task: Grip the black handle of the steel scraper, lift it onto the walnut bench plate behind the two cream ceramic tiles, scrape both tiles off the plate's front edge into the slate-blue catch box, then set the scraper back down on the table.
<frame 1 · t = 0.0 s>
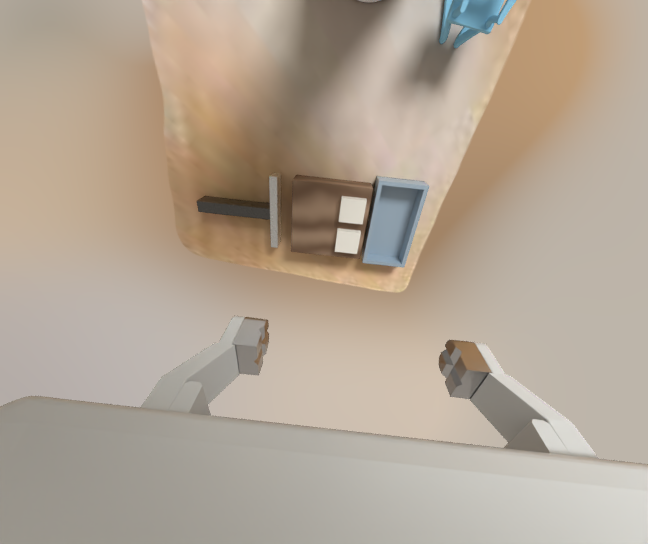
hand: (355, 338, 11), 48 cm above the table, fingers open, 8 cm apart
tile b: (347, 239, 56), point 5 cm above the table, touching bench plate
tile a: (352, 209, 52), point 5 cm above the table, touching bench plate
scraper: (240, 204, 58), on the table
catch box: (389, 221, 58), on the table
light blue open frame: (460, 12, 39), on the table
bench plate: (329, 214, 58), on the table
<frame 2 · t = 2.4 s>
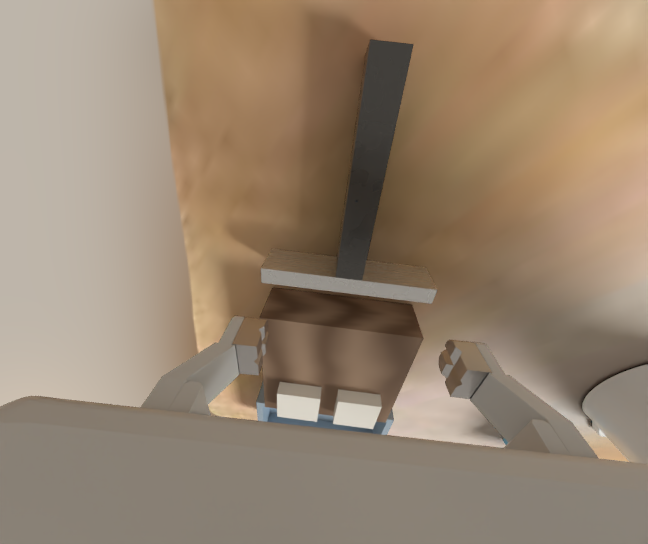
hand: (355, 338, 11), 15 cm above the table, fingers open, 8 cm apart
tile b: (299, 396, 31), point 5 cm above the table, touching bench plate
tile a: (355, 403, 31), point 5 cm above the table, touching bench plate
scraper: (362, 176, 22), on the table
catch box: (323, 402, 40), on the table
bench plate: (333, 343, 33), on the table
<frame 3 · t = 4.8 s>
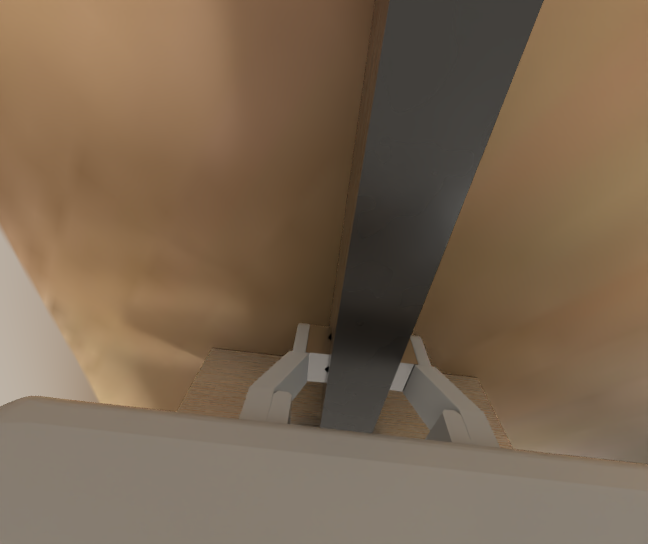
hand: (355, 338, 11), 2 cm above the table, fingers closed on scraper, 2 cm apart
scraper: (369, 242, 11), on the table, touching gripper
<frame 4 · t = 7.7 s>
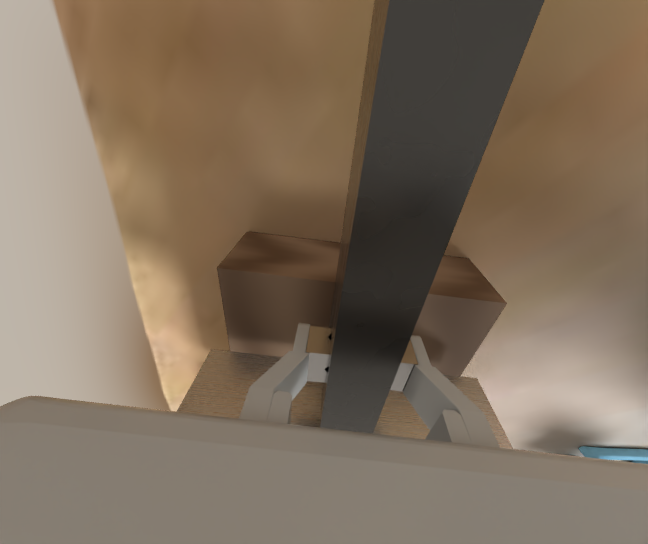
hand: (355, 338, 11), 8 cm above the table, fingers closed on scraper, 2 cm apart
scraper: (369, 243, 11), point 6 cm above the table, touching gripper
light blue open frame: (600, 455, 31), on the table
bench plate: (342, 325, 22), on the table
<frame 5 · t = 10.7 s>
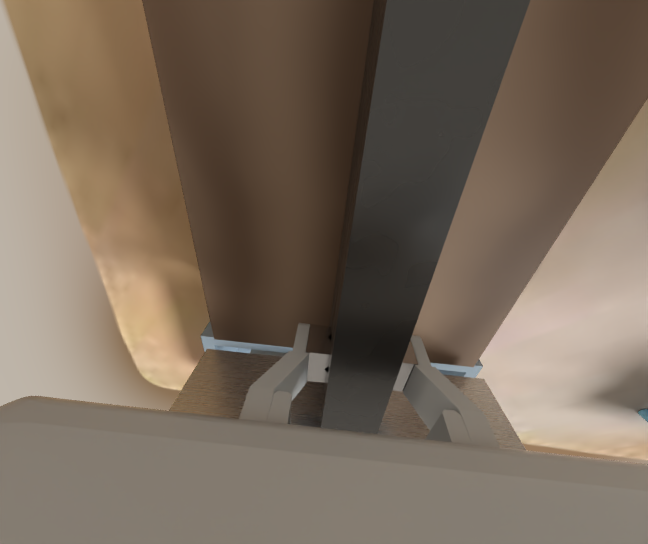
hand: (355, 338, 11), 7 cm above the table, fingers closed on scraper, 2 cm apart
scraper: (371, 231, 10), point 5 cm above the table, touching gripper
catch box: (334, 352, 23), on the table
bench plate: (360, 200, 15), on the table
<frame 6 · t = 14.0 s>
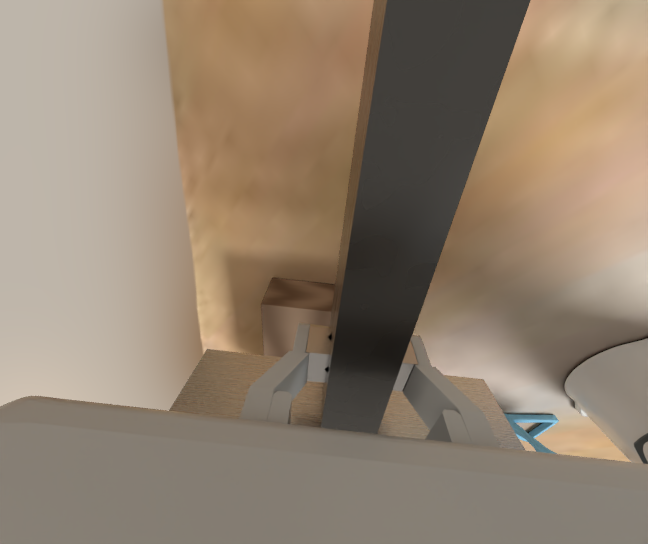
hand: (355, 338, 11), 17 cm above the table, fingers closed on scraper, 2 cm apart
scraper: (370, 232, 11), point 15 cm above the table, touching gripper
light blue open frame: (518, 421, 44), on the table
bench plate: (330, 331, 35), on the table
when the fingers open (2 cm above the table, at t = 17.2 s): scraper stays where it is, on the table.
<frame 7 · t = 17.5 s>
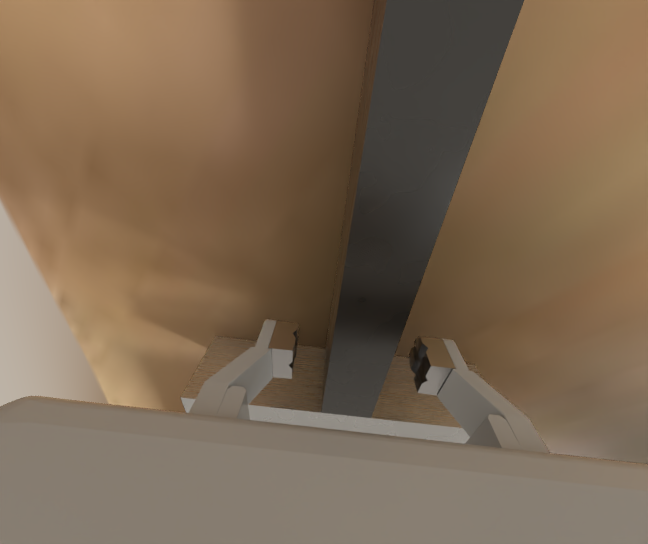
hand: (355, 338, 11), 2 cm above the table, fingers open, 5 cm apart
scraper: (369, 227, 11), on the table
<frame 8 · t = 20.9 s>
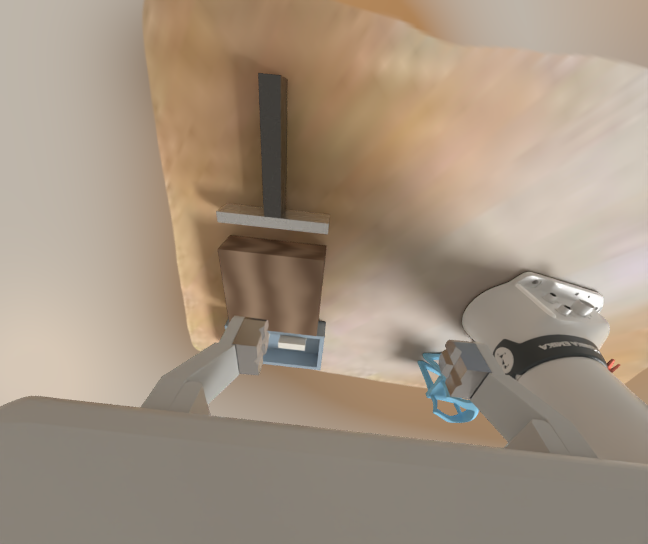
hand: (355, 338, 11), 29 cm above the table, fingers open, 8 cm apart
tile a: (293, 333, 48), point 3 cm above the table, tilted 90°, touching catch box
scraper: (278, 151, 34), on the table
catch box: (279, 334, 53), on the table
light blue open frame: (437, 360, 55), on the table
bench plate: (278, 280, 46), on the table
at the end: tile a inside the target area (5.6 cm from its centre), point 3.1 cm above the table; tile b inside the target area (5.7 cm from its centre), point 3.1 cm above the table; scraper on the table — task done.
